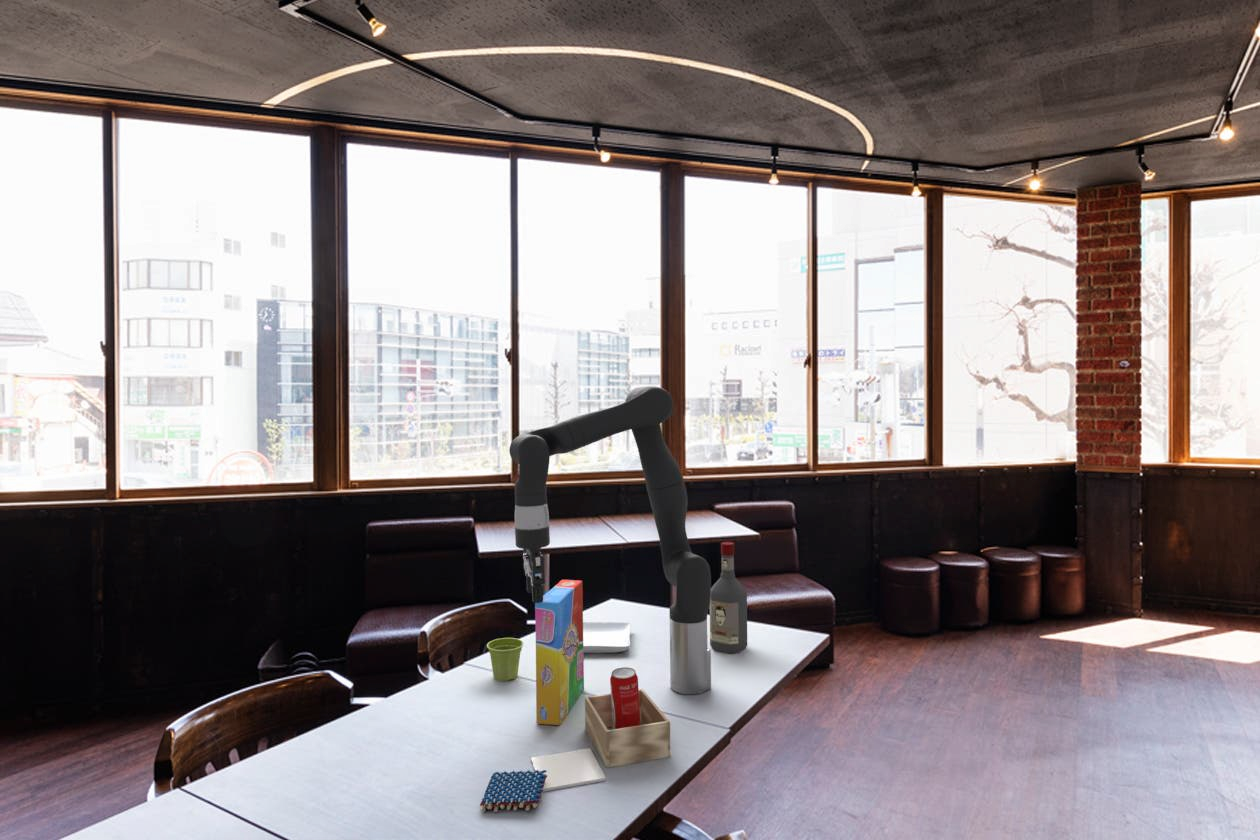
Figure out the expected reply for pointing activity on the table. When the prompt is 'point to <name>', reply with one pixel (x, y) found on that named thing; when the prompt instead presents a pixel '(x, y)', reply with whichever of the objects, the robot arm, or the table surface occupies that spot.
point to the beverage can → (624, 698)
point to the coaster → (569, 769)
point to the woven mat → (514, 790)
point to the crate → (627, 732)
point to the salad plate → (605, 637)
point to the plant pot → (505, 657)
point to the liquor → (728, 608)
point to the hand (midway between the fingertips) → (534, 597)
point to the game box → (559, 651)
